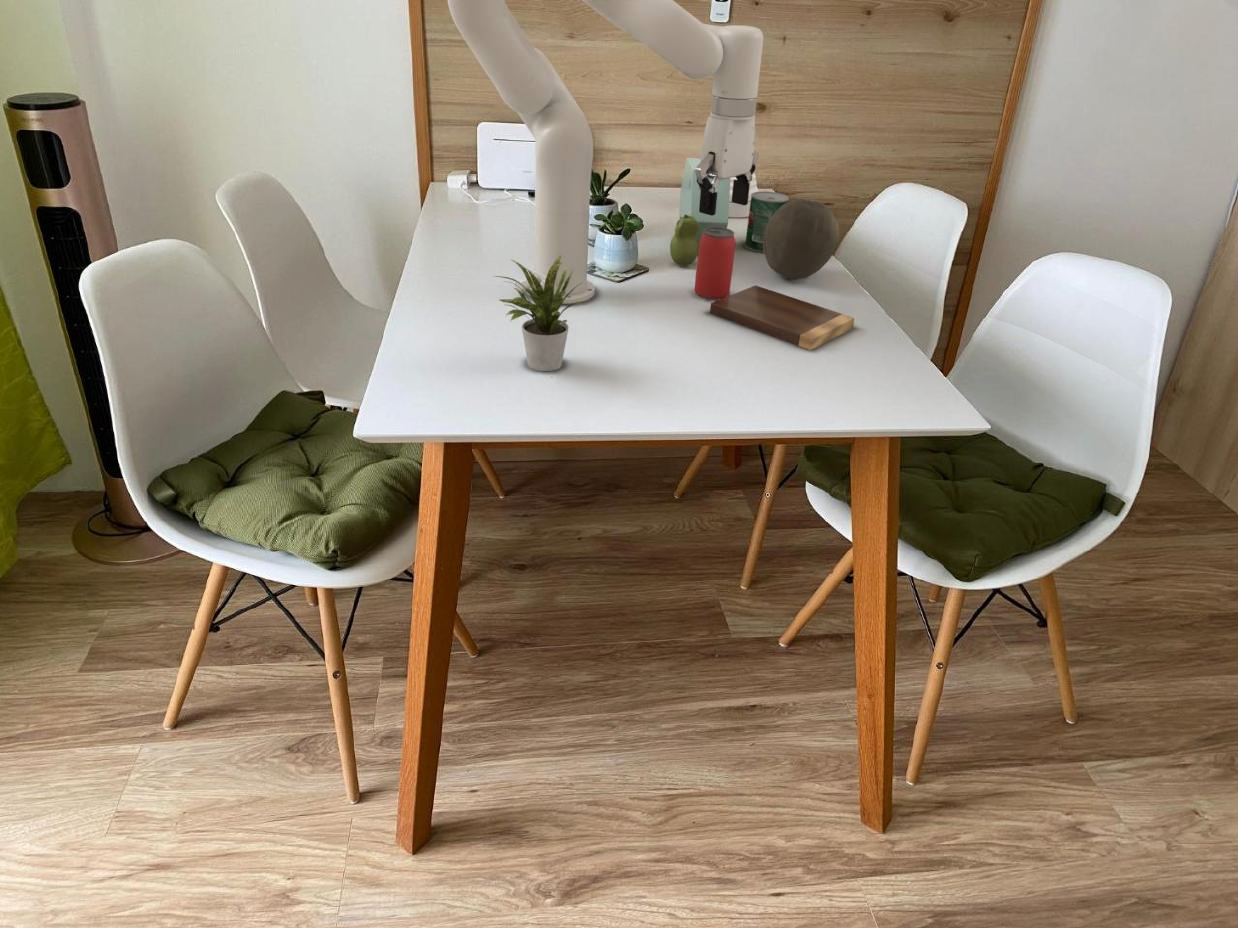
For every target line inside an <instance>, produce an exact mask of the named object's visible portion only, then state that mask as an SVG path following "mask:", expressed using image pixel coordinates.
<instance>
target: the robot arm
mask: <svg viewBox="0 0 1238 928" xmlns="http://www.w3.org/2000/svg"><path fill="white" fill-rule="evenodd" d="M446 1H447V5H448V9H449V13H450V15H451V18H452V20H453V23H454V24H455V26H456V29H457V30H458V32H459V33H460V35H461V37H462V38H463V40H464V42H465V43H466V45H467V46H468V48H469V49H470V50H471V52H472V53H473V55H474V57H475V58H476V60H477V61H478V63H479V65H480V66H481V68H482V69H483V71H484V72H485V73H486V75H487V76H488V78H489V80H490V81H491V83H492V84H493V86H495V87H494V88H496V90H497V92H498V94H499V96H500V98H501V100H502V101H503V102H504V103H505V104H506V106H508V108H510V109H511V110H513V111H514V112H516V114H517V115H518V116H519V117H520V119H521V121H522V122H523V123H524V125H525V126H526V127H527V129H528V130H529V132H530V133H531V135H532V136H533V138H534V148H535V149H534V153H535V154H534V155H535V157H534V158H535V161H534V162H535V163H534V164H535V167H534V169H535V170H534V171H535V172H534V173H535V174H534V208H535V209H534V268H533V269H530V271H531V272H532V274H534V276H535V277H536V278H537V279H538V281H539V282H540V284H541V286H542V288H543V291H544V286H545V279H546V277H547V274H548V272H549V269H550V267H551V266H552V265H553V264H554V262H555V261H556V259H557V258H558V257H559V256H561V259H560V263H562V264H561V265H559V269H558V272H557V276H556V280H555V285H554V294H555V293H556V290H557V287H558V285H559V282H560V280H561V276H562V274H563V272H564V270H565V268H566V266H567V271H566V276H565V279H564V281H563V284H562V286H561V289H560V292H561V290H562V288H563V286H564V284H565V281H566V279H567V278H568V277H569V275H570V273H571V271H572V270H573V271H572V275H571V278H570V281H569V283H568V285H567V287H566V289H565V291H566V290H567V291H566V292H565V294H564V296H563V298H564V297H565V296H566V295H567V294H568V293H569V292H570V291H571V290H572V289H573V288H574V287H575V286H577V285H578V286H577V287H576V288H575V289H574V290H573V291H572V292H571V293H570V294H569V295H568V296H567V297H566V298H565V300H564V301H563V303H562V305H571V304H573V303H576V302H585V301H588V300H590V299H591V298H593V297H594V296H595V293H596V287H595V285H594V284H593V283H592V282H591V281H590V280H588V260H589V259H588V258H589V257H588V256H589V232H590V205H591V204H590V199H591V185H592V184H591V183H592V182H591V181H592V170H593V161H594V160H593V159H594V139H593V138H594V137H593V134H592V130H591V128H590V124H589V122H588V121H587V117H586V116H585V114H584V112H583V111H582V109H581V108H580V106H579V104H578V103H577V101H576V100H575V99H574V97H573V95H572V94H571V92H570V91H569V89H568V88H567V86H566V85H565V83H564V81H563V80H562V79H561V77H560V75H559V74H558V72H557V71H556V69H555V68H554V66H553V65H552V63H551V61H550V60H549V58H547V56H546V55H545V54H544V53H543V52H542V51H541V50H540V49H538V48H537V47H534V46H533V44H532V43H531V42H530V40H529V38H528V36H527V35H526V34H525V33H524V31H523V29H522V28H521V25H519V22H518V20H517V19H516V17H515V16H514V14H513V13H512V11H511V10H510V8H509V7H508V5H507V3H506V1H505V0H446ZM581 1H582V2H583V3H585V5H587V6H588V7H590V8H591V9H592V10H594V11H595V12H596V13H597V14H599V15H600V16H601V17H602V18H604V19H605V20H607V21H609V22H610V23H611V24H612V25H614V26H615V27H616V28H617V29H620V30H621V31H623V32H625V33H627V34H629V35H630V36H632V37H633V38H634V39H636V40H637V41H639V42H641V43H642V44H643V45H644V46H645V47H646V48H649V50H651V51H653V52H654V53H655V54H656V55H658V56H659V57H661V58H662V59H663V60H664V61H666V62H667V63H668V64H669V65H671V66H673V68H675V69H676V70H677V71H679V72H680V73H682V75H684V76H685V77H688V78H689V79H692V80H704V79H708V78H709V77H711V76H713V79H712V80H713V82H712V93H711V103H710V115H709V116H708V117H707V120H706V124H705V128H704V133H703V137H702V138H703V139H702V145H701V150H700V163H699V164H698V165H697V166H696V168H695V173H696V177H697V183H698V185H699V190H701V193H700V205H699V212H700V213H704V214H707V215H711V216H713V215H715V213H716V203H717V192H715V190H716V188H717V186H718V184H719V182H720V180H723V179H728V178H731V177H736V179H737V180H734V182H733V191H732V202H733V203H736V204H740V205H747V204H748V196H749V187H750V183H748V182H751V181H752V174H753V173H755V171H756V166H757V163H758V160H759V157H760V154H759V153H758V152H757V151H756V150H755V141H756V140H755V138H756V113H757V112H756V111H757V101H758V93H759V82H760V76H761V75H760V73H761V65H762V55H763V49H764V48H763V47H764V46H763V45H764V33H763V32H762V30H761V29H760V28H758V27H756V26H751V25H741V24H739V25H738V24H737V25H736V24H735V25H734V24H733V25H732V24H731V25H725V26H721V25H720V26H719V25H713V24H707V23H703V22H702V21H700V20H699V19H698V18H697V17H695V16H694V15H692V14H691V13H690V12H689V11H687V10H686V9H685V8H684V7H682V6H681V5H680V4H678V3H677V2H676V1H675V0H581ZM715 173H717V174H715ZM709 179H714V180H713V182H712V184H711V183H710V181H709ZM530 277H531V276H530ZM531 280H532V279H531ZM517 281H518V282H519V283H521V284H522V285H523V286H524V287H525V288H528V289H530V290H532V289H531V287H530V285H529V283H528V281H527V279H526V278H524V279H521V280H517ZM532 282H533V281H532ZM519 283H517V282H515V283H514V288H516V289H518V290H520V291H521V292H522V291H523V292H526V290H525V288H523V286H522V285H520V284H519ZM580 283H581V284H580ZM515 284H516V285H517V286H516V285H515ZM533 284H534V283H533ZM579 284H580V285H579ZM518 286H519V287H520V288H521V289H522V290H521V289H520V288H519V287H518ZM534 287H535V286H534ZM516 289H515V290H516ZM535 289H536V288H535ZM568 290H569V291H568ZM523 292H522V293H523ZM560 292H559V293H560ZM526 294H527V295H528V296H529V297H531V296H530V295H529V294H528V293H527V292H526Z"/></svg>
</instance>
